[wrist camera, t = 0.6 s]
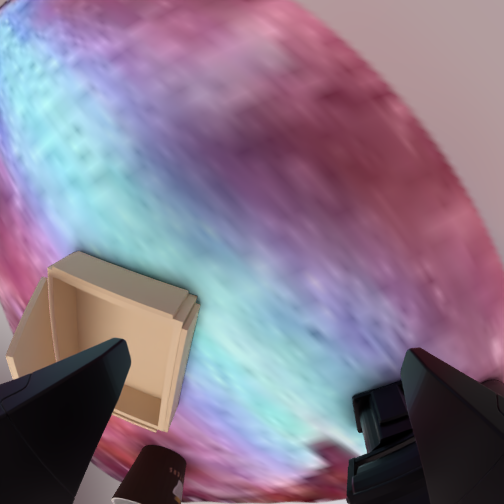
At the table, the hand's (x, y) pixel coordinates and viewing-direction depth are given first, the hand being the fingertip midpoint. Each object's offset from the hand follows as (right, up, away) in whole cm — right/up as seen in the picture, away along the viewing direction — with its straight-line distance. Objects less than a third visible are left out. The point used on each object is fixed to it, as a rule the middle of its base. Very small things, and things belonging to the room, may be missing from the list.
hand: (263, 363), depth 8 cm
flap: (-18, -4, +13) cm, 23 cm away
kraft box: (-12, -5, +17) cm, 22 cm away
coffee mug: (-13, -26, +24) cm, 38 cm away
